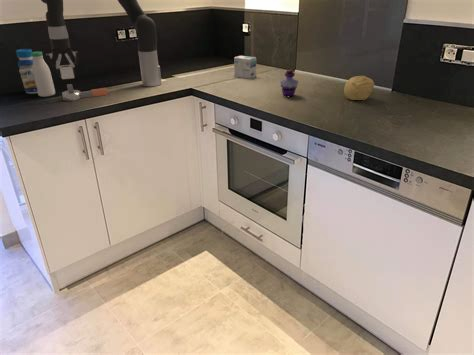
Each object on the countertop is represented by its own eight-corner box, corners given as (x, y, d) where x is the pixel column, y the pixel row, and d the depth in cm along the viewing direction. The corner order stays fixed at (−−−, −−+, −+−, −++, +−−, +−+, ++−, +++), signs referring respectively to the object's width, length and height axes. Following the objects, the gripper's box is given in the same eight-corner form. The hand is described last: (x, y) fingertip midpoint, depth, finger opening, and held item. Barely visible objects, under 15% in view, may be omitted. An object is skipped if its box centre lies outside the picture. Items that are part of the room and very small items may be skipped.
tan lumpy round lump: (356, 104, 168) (359, 80, 163) (338, 97, 177) (341, 74, 172) (375, 100, 173) (379, 77, 167) (356, 94, 182) (360, 71, 177)
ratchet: (105, 91, 188) (103, 78, 185) (109, 95, 182) (106, 82, 179) (62, 97, 180) (59, 83, 177) (64, 102, 174) (61, 88, 171)
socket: (72, 75, 177) (70, 64, 175) (74, 77, 173) (72, 66, 171) (60, 76, 175) (58, 65, 173) (62, 79, 171) (59, 68, 169)
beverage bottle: (47, 90, 191) (37, 49, 182) (33, 94, 185) (22, 52, 175) (35, 88, 194) (25, 47, 185) (21, 92, 188) (9, 50, 178)
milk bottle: (59, 93, 187) (49, 51, 177) (47, 97, 180) (36, 54, 171) (46, 91, 189) (36, 50, 179) (34, 96, 183) (23, 53, 173)
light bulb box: (256, 76, 213) (256, 56, 208) (250, 79, 208) (250, 59, 203) (240, 74, 218) (240, 55, 213) (234, 76, 213) (233, 57, 208)
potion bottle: (287, 91, 186) (288, 67, 180) (301, 95, 180) (303, 69, 175) (275, 95, 181) (276, 70, 175) (289, 99, 175) (291, 73, 169)
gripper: (75, 34, 172) (82, 72, 180) (40, 37, 166) (49, 76, 174) (77, 37, 166) (85, 76, 174) (41, 39, 160) (51, 79, 168)
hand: (67, 76), depth 174 cm, fingers closed on socket, 5 cm apart
